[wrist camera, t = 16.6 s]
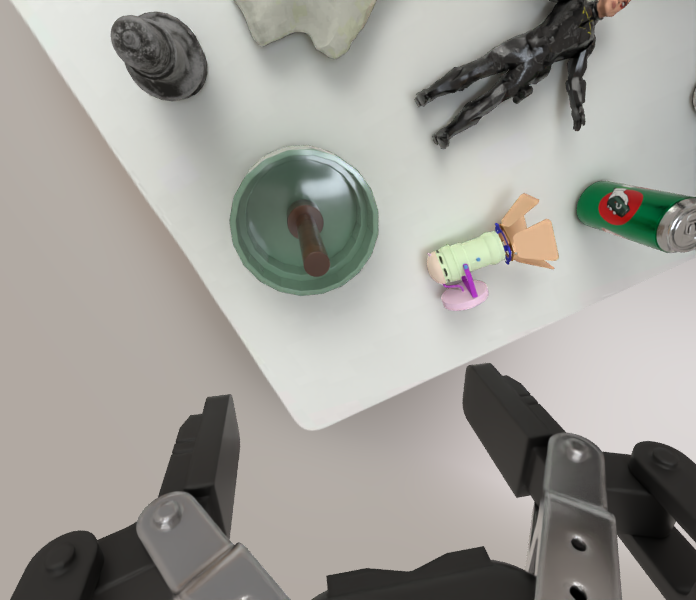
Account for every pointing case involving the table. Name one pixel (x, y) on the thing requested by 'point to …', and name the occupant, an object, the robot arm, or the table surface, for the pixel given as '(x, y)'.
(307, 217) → the muddler
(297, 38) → the table surface
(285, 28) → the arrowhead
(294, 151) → the bowl
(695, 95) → the beverage can
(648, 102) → the table surface
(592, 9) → the action figure
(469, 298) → the spotlight
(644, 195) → the soda can
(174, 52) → the chess piece
